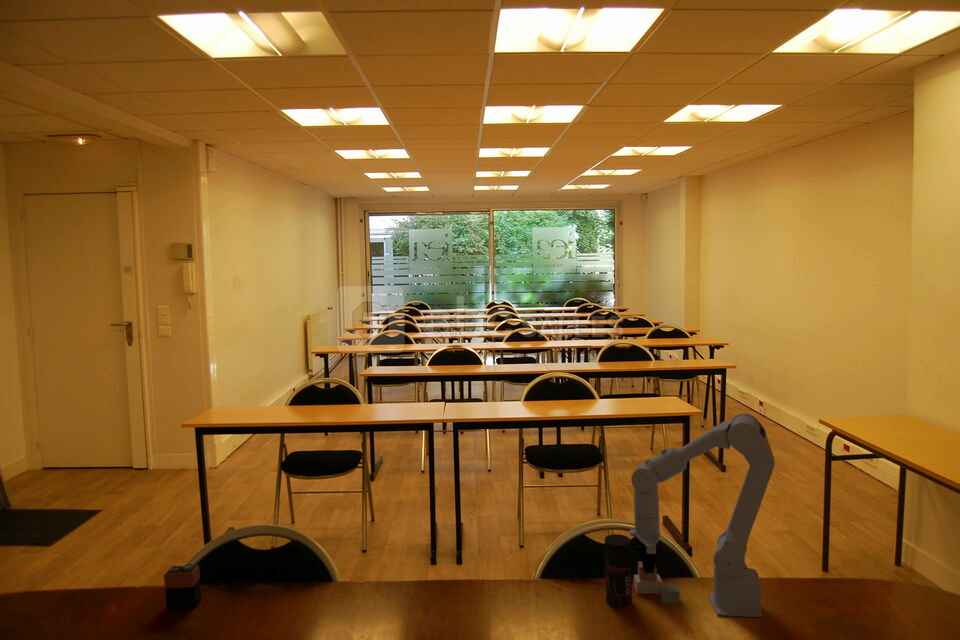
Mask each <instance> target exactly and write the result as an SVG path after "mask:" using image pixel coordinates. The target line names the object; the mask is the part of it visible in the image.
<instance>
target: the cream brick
mask: <svg viewBox="0 0 960 640" xmlns="http://www.w3.org/2000/svg"><path fill="white" fill-rule="evenodd" d="M659 584H663V580H662V579H661V576H660V574H658V573H657V580H641V579H639V575H638V574H633V586H634V588H635V591H636V594H660V585H659Z"/></svg>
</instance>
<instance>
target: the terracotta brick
mask: <svg viewBox="0 0 960 640" xmlns="http://www.w3.org/2000/svg"><path fill="white" fill-rule="evenodd" d="M657 571H658V570H657V564H655V569H654V572H653V573H645V572H644V569H643V565H642V561H637V575H639V579H641V580H657V574H658V573H657Z"/></svg>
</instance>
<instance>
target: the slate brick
mask: <svg viewBox="0 0 960 640" xmlns="http://www.w3.org/2000/svg"><path fill="white" fill-rule="evenodd" d="M659 585H660V593H659V599H660V601H661V604H674V605H675V604H676V605H678V604H679V605H680V604H681V603H680V602H681V601H680V599H681V598H680V596H681V595H680V589H679V587H678V584H663V583H662V584H659Z"/></svg>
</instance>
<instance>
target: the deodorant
mask: <svg viewBox="0 0 960 640" xmlns="http://www.w3.org/2000/svg"><path fill="white" fill-rule="evenodd" d="M631 542H632V541H631V538H630V537H628V536H627V535H624V534H621V533H615V534H614V533H612V534H608V535H605V538H604V563H605V564H604V565H605V567H604V568H605V571H604V572H605V602H606V604H607V605H608V606H609V607H611V608H613V609H617V610H626V609H628V608H630V607H632V605H633V594H632V593H633V587H632V586H633V585H632V583H633V582H632V581H633V580H632V543H631Z"/></svg>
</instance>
